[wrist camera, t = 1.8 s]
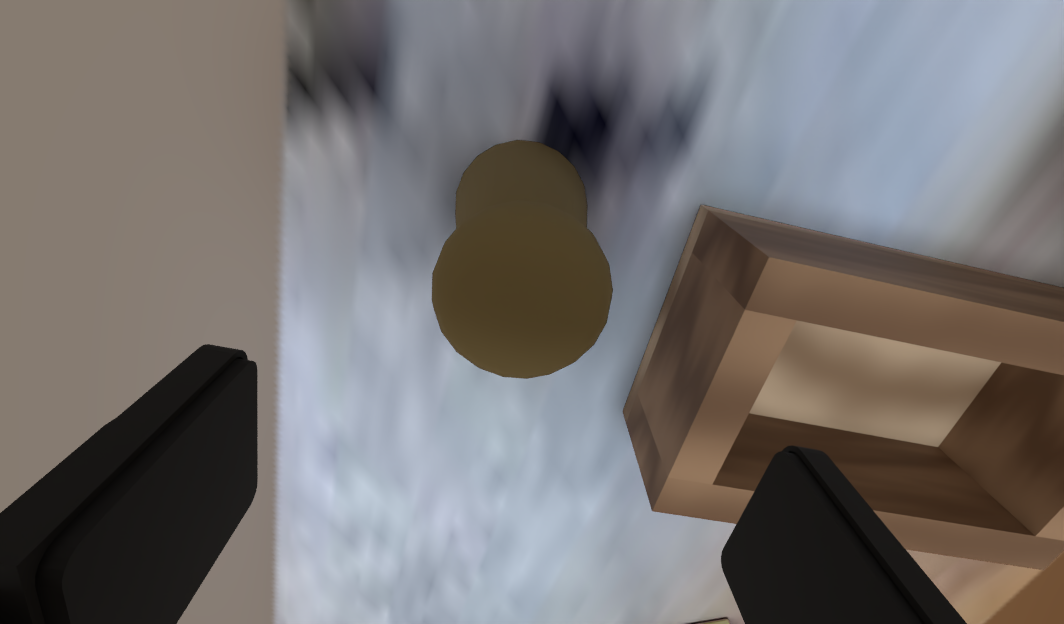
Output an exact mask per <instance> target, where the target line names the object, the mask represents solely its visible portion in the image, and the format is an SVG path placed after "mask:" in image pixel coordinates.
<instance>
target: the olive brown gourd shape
mask: <svg viewBox="0 0 1064 624" xmlns="http://www.w3.org/2000/svg"><path fill="white" fill-rule="evenodd" d="M455 215H456V230H455V231H454V232H453V233H452V235H451V236H450V237H449V238H448V239H447V240H446V242H445V244H444V246H443V248H442V251H441V253H440V256H439V258H438V261H437V263H436V266H435V268H434V271H433V276H432V302H433V307H434V311H435V314H436V317H437V320H438V323H439V326H440V329H441V332H442V333H443V334H444V336H445V337H446V338H447V340H448V341H449V342H450V344H451V345H452V346H453V348H454V349H455V350H456V352H458V353H459V354H460V355H462V356H463V357H464V358H466V359H467V360H469V361H470V362H471V363H473V364H474V365H475V366H477V367H479V368H481V369H483V370H486V371H489V372H491V373H494V374H497V375H500V376H502V377H513V378H526V379H527V378H533V377H538V376H543V375H549V374H552V373H554V372H556V371H558V370H560V369H562V368H564V367H566V366H568V365H570V364H572V363H574V362H575V361H577V360H578V359H579V358H580V357H581V356H582V355H583V354H584V353H585V352H586V351H588V350H589V349H590V348H591V347H592V346H593V345H594V344H595V342H596V340H597V339H598V337H599V335H600V333H601V332H602V330H603V328H604V326H605V325H606V323H607V318H608V313H609V308H610V303H611V298H612V292H613V288H612V281H611V274H610V268H609V263H608V261H607V259H606V257H605V255H604V253H603V252H602V250H601V248H600V246H599V244H598V242H597V240H596V238H595V237H594V235H593V233H592V232H591V231H589V230H588V229H587V201H586V194H585V188H584V184H583V182H582V180H581V179H580V177H579V175H578V173H577V171H576V169H575V167H574V166H573V165H572V164H571V163H570V162H569V161H568V160H567V159H566V158H565V157H564V156H563V155H562V154H561V153H560V152H558V151H556V150H554V149H552V148H550V147H548V146H546V145H544V144H541V143H539V142H531V141H522V140H515V141H510V142H506V143H501V144H497V145H495V146H493V147H491V148H490V149H488V150H486V151H485V152H483V153H482V154H480V155H478V156H477V157H476V158H475V160H474V161H473V162H472V163H471V164H470V166H469V167H468V168H467V169H466V170H465V172H464V173H463V176H462V178H461V181H460V184H459V186H458V189H457V191H456V210H455Z"/></svg>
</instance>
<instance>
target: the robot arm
mask: <svg viewBox="0 0 1064 624" xmlns="http://www.w3.org/2000/svg"><path fill="white" fill-rule="evenodd" d="M256 488H257V365H256V363H255V362H254V361H249V360H248V359H247V355H246V353H245V352H244V351H243V350H238V349H232V348H225V347H220V346H215V345H209V344H208V345H203V346H201V347H200V348H199V349H197V350H196V351H195V352H194V353H192V354H191V355H190V356H189V357H188V358H187V359H185V360H184V361H183V362H182V363H181V364H180V365H178V366H177V367H176V368H175V369H174V370H172V371H171V372H170V373H169V374H168V375H166V376H165V377H164V378H163V379H162V380H161V381H159V382H158V383H157V384H156V385H155V386H153V387H152V388H151V389H150V390H149V391H148V392H146V393H145V394H144V395H143V396H142V397H140V398H139V399H138V400H137V401H136V402H135V403H134V404H132V405H131V406H130V407H129V408H128V409H126V410H125V411H124V412H123V413H122V414H120V415H119V416H118V417H117V418H115V419H114V420H112V421H111V422H109V423H108V424H106V425H105V426H103V427H102V428H101V429H100V430H99V431H98V432H96V433H95V434H94V435H93V436H92V437H90V438H89V439H88V440H87V441H86V442H85V443H83V444H82V445H81V446H80V447H78V448H77V449H76V450H75V451H74V452H72V453H71V454H70V455H69V456H68V457H67V458H65V459H64V460H63V461H62V462H61V463H59V464H58V465H57V466H56V467H55V468H53V469H52V470H51V471H50V472H49V473H48V474H46V475H45V476H44V477H43V478H42V479H41V480H39V481H38V482H37V483H36V484H34V486H32V487H31V488H30V489H29V490H28V491H26V492H25V493H24V494H23V495H21V496H20V497H19V498H18V499H17V500H15V501H14V502H13V503H12V504H11V505H10V506H8V507H7V508H6V509H5V510H4V511H2V512H1V513H0V624H177V622H178V620H179V618H180V617H181V616H182V614H183V612H184V611H185V609H186V608H187V606H188V604H189V603H190V601H191V600H192V598H193V596H194V595H195V593H196V592H197V590H198V588H199V587H200V585H201V584H202V582H203V580H204V579H205V577H206V576H207V574H208V572H209V571H210V569H211V567H212V566H213V564H214V563H215V561H216V559H217V558H218V556H219V555H220V553H221V551H222V550H223V548H224V547H225V545H226V543H227V542H228V540H229V539H230V537H231V535H232V534H233V532H234V531H235V529H236V527H237V526H238V524H239V523H240V521H241V519H242V518H243V516H244V515H245V513H246V511H247V510H248V508H249V506H250V505H251V503H252V501H253V498H254V495H255V493H256ZM721 564H722V569H723V572H724V575H725V577H726V579H727V582H728V584H729V586H730V589H731V591H732V594H733V596H734V598H735V601H736V603H737V605H738V608H739V610H740V613H741V615H742V617H743V620H744V622H745V624H967V623H966V622H965V621H964V620H963V618H962V617H961V616H960V615H959V614H958V612H957V611H956V610H955V609H954V608H953V606H952V605H951V604H950V603H949V601H948V600H947V599H946V598H945V597H944V595H943V594H942V593H941V592H940V591H939V589H938V588H937V587H936V586H935V585H934V583H933V582H932V581H931V580H930V579H929V577H928V576H927V575H926V574H925V572H924V571H923V570H922V569H921V568H920V566H919V565H918V564H917V563H916V562H915V560H914V559H913V558H912V557H911V556H910V554H909V553H908V552H907V551H906V549H905V548H904V547H903V546H902V545H901V543H900V542H899V541H898V540H897V539H896V537H895V536H894V535H893V534H892V533H891V531H890V530H889V529H888V528H887V527H886V525H885V524H884V523H883V522H882V520H881V519H880V518H879V517H878V516H877V514H876V513H875V512H874V511H873V510H872V508H871V507H870V506H869V505H868V504H867V502H866V501H865V500H864V499H863V497H862V496H861V495H860V494H859V493H858V491H857V490H856V489H855V488H854V487H853V485H852V484H851V483H850V482H849V481H848V479H847V478H846V477H845V476H844V475H843V473H842V472H841V471H840V470H839V468H838V467H837V466H836V465H835V464H834V462H833V461H832V460H831V459H830V458H829V456H828V455H827V454H826V453H824V452H823V451H820V450H817V449H811V448H805V447H799V446H793V445H792V446H787V447H786V448H784V449H783V450H782V451H781V452H778V453H776V454H775V455H774V456H773V458H772V460H771V462H770V464H769V465H768V467H767V469H766V471H765V473H764V475H763V476H762V478H761V480H760V482H759V484H758V486H757V487H756V489H755V491H754V493H753V495H752V497H751V499H750V500H749V502H748V504H747V506H746V508H745V510H744V511H743V513H742V515H741V517H740V519H739V521H738V523H737V524H736V526H735V528H734V530H733V532H732V534H731V535H730V537H729V539H728V541H727V543H726V545H725V546H724V548H723V551H722V555H721Z"/></svg>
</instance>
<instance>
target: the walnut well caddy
mask: <svg viewBox="0 0 1064 624" xmlns="http://www.w3.org/2000/svg"><path fill="white" fill-rule="evenodd" d="M623 414H624V418H625V421H626V424H627V428H628V431H629V435H630V438H631V441H632V445H633V448H634V451H635V455H636V458H637V461H638V465H639V468H640V472H641V475H642V478H643V482H644V485H645V488H646V492H647V495H648V499H649V502H650V505H651V509H652V511H655V512H661V513H668V514H675V515H681V516H688V517H695V518H701V519H708V520H714V521H721V522H728V523H734V524H737V523H738V521H739V519H740V517H741V515H742V513H743V511H744V510H745V508H746V506H747V504H748V502H749V500H750V499H751V497H752V495H753V493H754V491H755V489H756V487H757V486H758V484H759V482H760V480H761V478H762V476H763V475H764V473H765V471H766V469H767V467H768V465H769V464H770V462H771V460H772V458H773V456H774V455H775V454H776V453H778V452H781V451H782V450H783V449H784V448H786V447H787V446H792V445H793V446H799V447H805V448H811V449H817V450H820V451H823V452H824V453H826V454H827V455H828V456H829V458H830V459H831V460H832V461H833V462H834V464H835V465H836V466H837V467H838V468H839V470H840V471H841V472H842V473H843V475H844V476H845V477H846V478H847V479H848V481H849V482H850V483H851V484H852V485H853V487H854V488H855V489H856V490H857V491H858V493H859V494H860V495H861V496H862V497H863V499H864V500H865V501H866V502H867V504H868V505H869V506H870V507H871V508H872V510H873V511H874V512H875V513H876V514H877V516H878V517H879V518H880V519H881V520H882V522H883V523H884V524H885V525H886V527H887V528H888V529H889V530H890V531H891V533H892V534H893V535H894V536H895V537H896V539H897V540H898V541H899V542H900V543H901V545H902V546H903V547H904V548H905V549H907V550H913V551H920V552H927V553H933V554H940V555H947V556H953V557H960V558H966V559H973V560H980V561H986V562H993V563H1000V564H1006V565H1013V566H1019V567H1026V568H1033V569H1039V570H1045V569H1046V568H1047V567H1048V566H1049V565H1050V564H1051V563H1052V562H1053V561H1054V560H1055V559H1056V558H1057V557H1058V556H1059V555H1060V554H1061V553H1062V552H1063V551H1064V288H1062V287H1057V286H1053V285H1049V284H1044V283H1040V282H1036V281H1031V280H1027V279H1023V278H1018V277H1014V276H1010V275H1005V274H1001V273H997V272H992V271H988V270H984V269H979V268H975V267H970V266H966V265H962V264H957V263H953V262H949V261H944V260H940V259H936V258H931V257H927V256H923V255H918V254H914V253H910V252H905V251H901V250H897V249H892V248H888V247H883V246H879V245H875V244H870V243H866V242H862V241H857V240H853V239H849V238H844V237H840V236H836V235H831V234H827V233H823V232H818V231H814V230H810V229H805V228H801V227H796V226H792V225H788V224H783V223H779V222H775V221H770V220H766V219H762V218H757V217H753V216H749V215H744V214H740V213H736V212H731V211H727V210H723V209H718V208H714V207H709V206H705V205H701V206H700V208H699V211H698V214H697V216H696V219H695V222H694V224H693V227H692V230H691V232H690V235H689V237H688V240H687V243H686V245H685V248H684V251H683V253H682V256H681V259H680V261H679V264H678V266H677V269H676V272H675V274H674V277H673V280H672V282H671V285H670V288H669V290H668V293H667V296H666V298H665V301H664V303H663V306H662V309H661V311H660V314H659V317H658V319H657V322H656V325H655V327H654V330H653V333H652V335H651V338H650V340H649V343H648V346H647V348H646V351H645V354H644V356H643V359H642V362H641V364H640V367H639V370H638V372H637V375H636V377H635V380H634V383H633V385H632V388H631V391H630V393H629V396H628V399H627V401H626V404H625V406H624V409H623Z"/></svg>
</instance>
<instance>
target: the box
mask: <svg viewBox="0 0 1064 624" xmlns="http://www.w3.org/2000/svg"><path fill="white" fill-rule="evenodd" d="M697 624H730V622H729V620H728V619H721V620H715V621H709V622H703V623H697Z"/></svg>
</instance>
